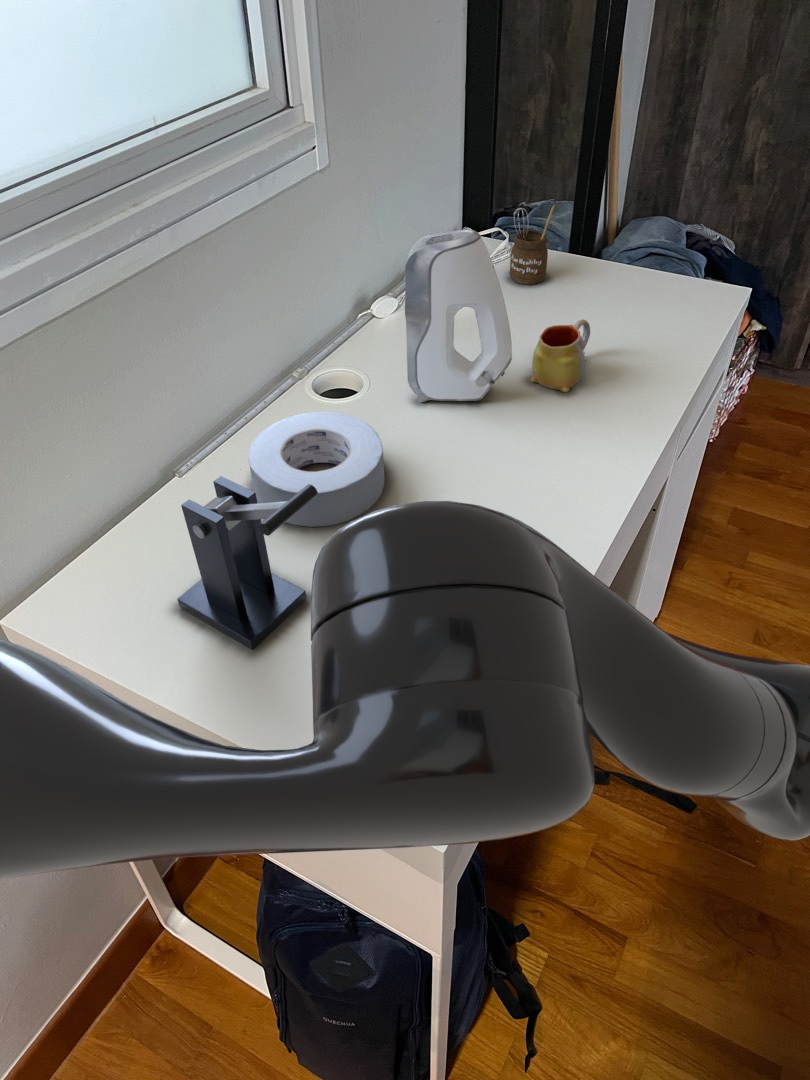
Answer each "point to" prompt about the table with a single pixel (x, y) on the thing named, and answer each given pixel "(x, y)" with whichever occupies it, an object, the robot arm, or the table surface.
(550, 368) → the mug
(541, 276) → the utensil holder
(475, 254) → the jug
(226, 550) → the switch bracket
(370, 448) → the tape roll
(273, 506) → the switch lever
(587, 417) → the table surface
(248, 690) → the table surface
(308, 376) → the table surface
